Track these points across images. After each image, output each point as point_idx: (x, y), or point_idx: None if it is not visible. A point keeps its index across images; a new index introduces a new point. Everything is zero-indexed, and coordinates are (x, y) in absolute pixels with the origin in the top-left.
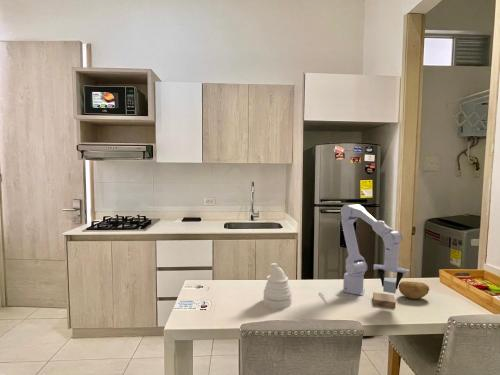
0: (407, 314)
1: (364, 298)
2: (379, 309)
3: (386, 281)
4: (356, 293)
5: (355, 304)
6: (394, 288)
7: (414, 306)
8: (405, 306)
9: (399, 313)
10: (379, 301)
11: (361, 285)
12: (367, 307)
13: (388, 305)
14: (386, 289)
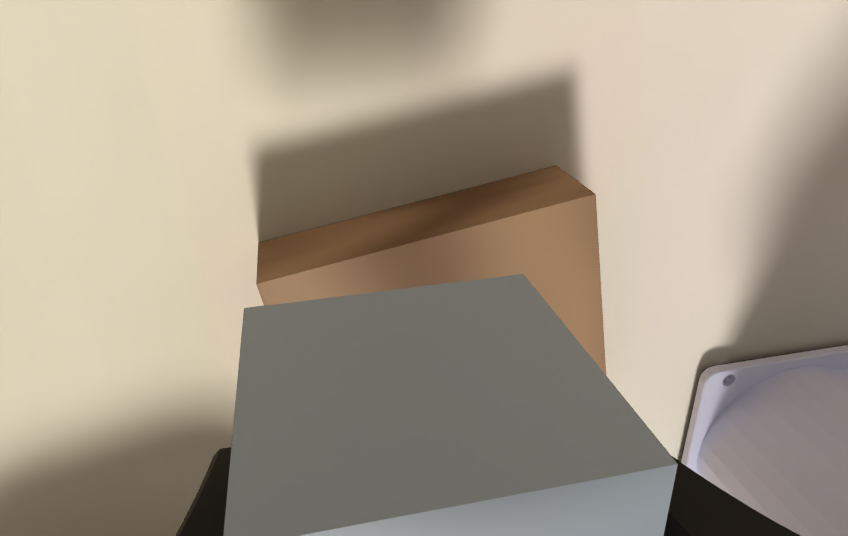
0: (10, 90)
1: (675, 308)
2: (466, 36)
3: (577, 470)
4: (773, 367)
5: (803, 25)
6: (270, 380)
7: (31, 451)
8: (142, 378)
9: (143, 54)
10: (505, 207)
11: (790, 487)
12: (641, 9)
13: (359, 225)
14: (473, 313)
